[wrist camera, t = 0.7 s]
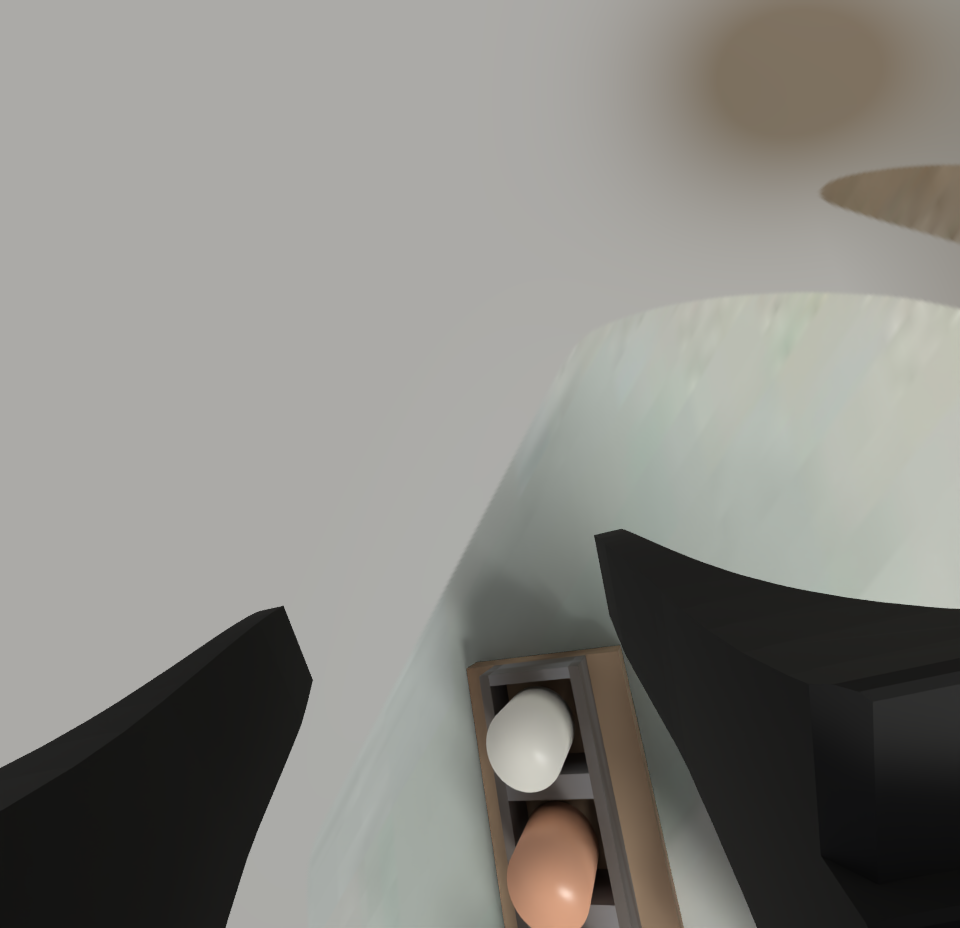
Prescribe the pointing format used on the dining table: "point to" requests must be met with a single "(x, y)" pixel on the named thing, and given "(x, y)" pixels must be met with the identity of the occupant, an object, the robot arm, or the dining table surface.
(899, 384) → the dining table surface
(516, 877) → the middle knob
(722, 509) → the dining table surface
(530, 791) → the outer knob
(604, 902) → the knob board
